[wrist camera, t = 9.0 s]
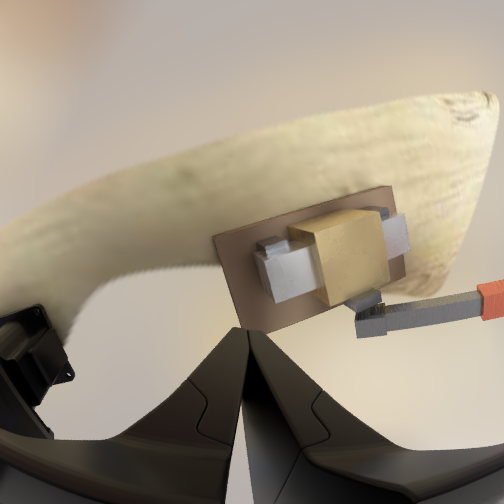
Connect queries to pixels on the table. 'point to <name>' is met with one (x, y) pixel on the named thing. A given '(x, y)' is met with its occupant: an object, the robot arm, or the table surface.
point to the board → (244, 241)
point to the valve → (334, 257)
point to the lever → (432, 311)
